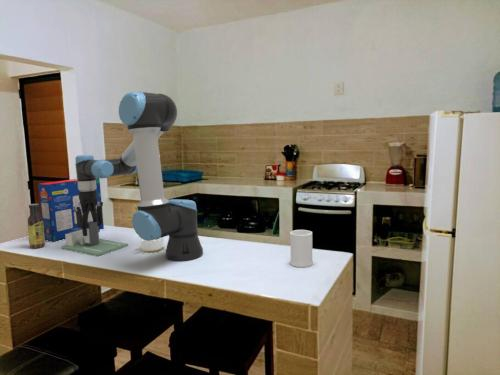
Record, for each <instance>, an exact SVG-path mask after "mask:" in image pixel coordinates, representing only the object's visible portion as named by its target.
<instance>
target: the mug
mask: <svg viewBox="0 0 500 375" xmlns="http://www.w3.org/2000/svg"><path fill="white" fill-rule="evenodd" d="M289 236H290V237H289V239H290V244H289V245H290V260H289V261H290V262H289V264H290V265H291V266H292V267H296V268H309V267H312V266H313V265H314V260H313V231H311V230H307V229H295V230H291V231H290V232H289Z"/></svg>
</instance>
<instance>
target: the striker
mask: <svg viewBox="0 0 500 375" xmlns="http://www.w3.org/2000/svg"><path fill="white" fill-rule="evenodd" d="M87 228H88V229H89V235H90V243H85V238H84V237H83V238H79V243H80V245H85V244H86V245H90V246H93V245H96V244H99V239H100V236H99V237H98V225H97V222H94V221H90V222H88V225H87Z"/></svg>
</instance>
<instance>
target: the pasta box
mask: <svg viewBox="0 0 500 375" xmlns="http://www.w3.org/2000/svg"><path fill="white" fill-rule="evenodd" d="M100 180H101V178H96V187H97V188H96V189H95V190H97V201H98V202H102V194H101V192H102V191H101V182H100ZM37 185H38V195H39V206H40V215H41V218H42V220H43V225H44V236H45V241H46V240H48V241H47V242H50V241H52V242H51V243H57V242H60V241H59V240H61V241H63V239H64V240H66V238H65V234H68V233H72V232H76V231H80V230H82V229H81V228H78V226H77V219H76V212H75V210H74V207H75V206H76V207H77V206H78V205H79V203H80V200H79V194H78V192H79V191H80V190H78V183H77V178H74V179H64V180H57V181H48V182H41V183H38V184H37ZM96 210H97V205H96ZM81 212H82V208H81ZM96 212H97V211H96ZM82 214H83V213H82ZM90 221H93V219H92V215H91V212H90V211H89V214H88V222H90ZM99 228H100V229H102V230H104V229H105V226H104V222H103V223H101V226H99ZM56 241H57V242H56Z"/></svg>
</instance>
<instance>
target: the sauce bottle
mask: <svg viewBox="0 0 500 375" xmlns="http://www.w3.org/2000/svg"><path fill="white" fill-rule="evenodd" d="M28 208H29V216H28V218H27V230H28V231H27V232H28V242H29V248H30V249H38V248H39V249H40V248H43V247H45V245H46V240H45V236H44V225H43V220H42V214H41V211H40V203H31V204H28Z"/></svg>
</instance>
